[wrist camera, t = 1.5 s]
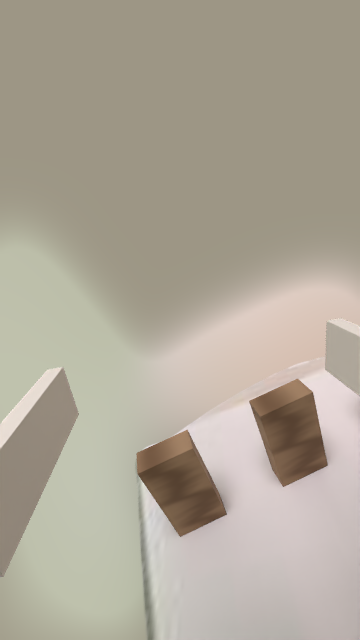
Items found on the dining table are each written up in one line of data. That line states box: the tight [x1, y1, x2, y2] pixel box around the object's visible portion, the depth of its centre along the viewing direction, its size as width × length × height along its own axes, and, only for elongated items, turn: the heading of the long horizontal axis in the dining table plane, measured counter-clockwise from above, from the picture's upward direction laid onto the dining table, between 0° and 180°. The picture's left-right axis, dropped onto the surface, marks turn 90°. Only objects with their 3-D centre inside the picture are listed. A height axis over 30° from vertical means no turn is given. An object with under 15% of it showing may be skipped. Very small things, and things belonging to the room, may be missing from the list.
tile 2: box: [249, 379, 328, 487], centre depth 29 cm, size 6×3×12 cm, turn 101°
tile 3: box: [137, 430, 227, 537], centre depth 29 cm, size 6×3×12 cm, turn 101°
